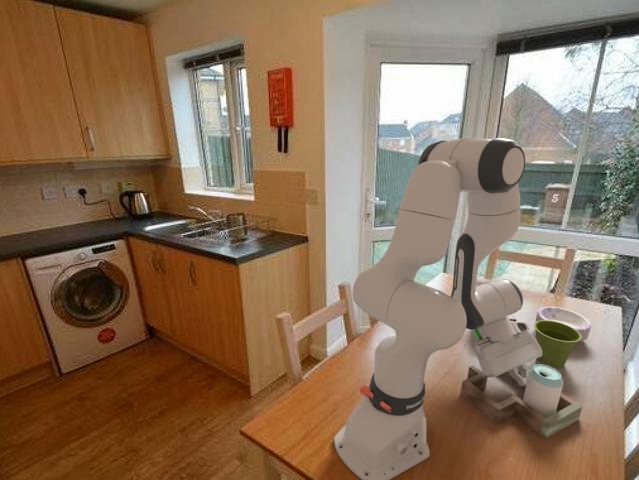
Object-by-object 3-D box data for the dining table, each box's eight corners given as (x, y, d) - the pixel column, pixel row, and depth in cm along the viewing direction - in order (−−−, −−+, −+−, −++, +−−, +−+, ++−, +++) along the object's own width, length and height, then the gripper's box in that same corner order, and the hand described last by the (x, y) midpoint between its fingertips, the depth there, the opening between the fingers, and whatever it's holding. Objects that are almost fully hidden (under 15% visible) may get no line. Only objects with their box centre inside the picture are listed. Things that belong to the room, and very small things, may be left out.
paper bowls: (580, 355, 105) (585, 334, 102) (527, 335, 116) (531, 315, 113) (590, 337, 114) (596, 317, 112) (541, 320, 125) (545, 302, 123)
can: (557, 425, 79) (567, 385, 76) (523, 416, 82) (532, 376, 79) (551, 405, 85) (561, 366, 82) (520, 396, 88) (528, 359, 85)
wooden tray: (450, 384, 93) (452, 373, 92) (497, 365, 101) (499, 354, 99) (528, 449, 73) (531, 435, 72) (578, 419, 81) (582, 406, 80)
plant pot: (520, 349, 108) (526, 319, 105) (556, 350, 108) (563, 320, 104) (542, 374, 97) (549, 341, 93) (583, 374, 96) (592, 341, 93)
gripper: (480, 340, 85) (508, 396, 79) (530, 321, 93) (559, 371, 87) (464, 345, 90) (490, 398, 84) (513, 327, 98) (539, 374, 92)
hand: (525, 384), depth 86 cm, fingers closed, pressing on can
